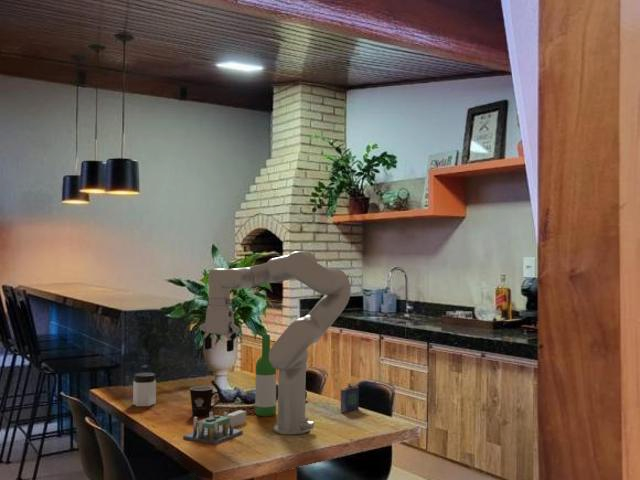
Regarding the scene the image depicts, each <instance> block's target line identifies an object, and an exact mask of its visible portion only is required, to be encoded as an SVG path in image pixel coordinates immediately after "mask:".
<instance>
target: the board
mask: <svg viewBox="0 0 640 480" xmlns="http://www.w3.org/2000/svg"><path fill="white" fill-rule="evenodd" d="M201 420H202V421H203V428H209V429H212V428H214V421H218V426H220V427H221V426H222V425H223V424H226V423H228V422H230V417H225V416H224V415H218V414H215V415H213V416H212V417H209V416H208V417H206V418H204V419H201ZM199 421H200V420H197V428H198V427H199Z"/></svg>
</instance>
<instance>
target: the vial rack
mask: <svg viewBox="0 0 640 480" xmlns="http://www.w3.org/2000/svg"><path fill="white" fill-rule="evenodd" d="M227 414H228V412H227V411H224V412H223V416H225V417H227ZM212 416H214V411H210V412H209V416H208V418H209V417H212ZM202 420H203V419H201V420H200V419H199V420H198V417H195V416H193V431H192V432H190V433H189V432H188V433H187V434H185V435H182V436H183V440H188V441H193V442H199V443H204V444H208V445H212V446H215V445H218V444H220V443H223V442H225V441H227V440H229V439H232V438H235V437H237V436H239V435H243V433H244V431H243V430H241V429H236V428H234V427H233V415H230V427H228V423H226V424H223V425H220V426H218V421H214V428H212V429H209V428H203V421H202ZM197 421H199V427H198V426H197Z"/></svg>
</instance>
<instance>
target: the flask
mask: <svg viewBox="0 0 640 480" xmlns="http://www.w3.org/2000/svg"><path fill="white" fill-rule="evenodd" d="M346 385H347V386H346V387H344V388H340V413H341V414H347V413H351V412H355V411H359V408H360V407H359V402H360V401H359V400H360V398H359V397H360V396H359V394H360V387H359V386H357V385H352V384H351V383H350V382H347V383H346Z"/></svg>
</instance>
